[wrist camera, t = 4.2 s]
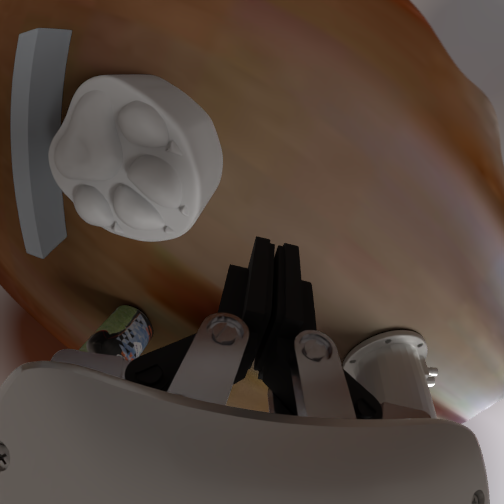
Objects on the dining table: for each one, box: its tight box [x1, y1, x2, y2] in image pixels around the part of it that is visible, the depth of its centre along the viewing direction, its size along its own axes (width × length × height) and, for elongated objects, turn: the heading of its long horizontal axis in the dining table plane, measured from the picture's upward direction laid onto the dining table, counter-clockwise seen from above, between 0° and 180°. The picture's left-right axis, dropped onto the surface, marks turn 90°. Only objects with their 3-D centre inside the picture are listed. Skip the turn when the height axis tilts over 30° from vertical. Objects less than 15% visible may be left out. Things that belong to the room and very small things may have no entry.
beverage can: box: [79, 305, 153, 361], centre depth 30 cm, size 6×7×12 cm
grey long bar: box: [11, 28, 72, 259], centre depth 21 cm, size 3×24×5 cm, turn 168°
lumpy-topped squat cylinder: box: [48, 74, 223, 241], centre depth 20 cm, size 10×13×9 cm
